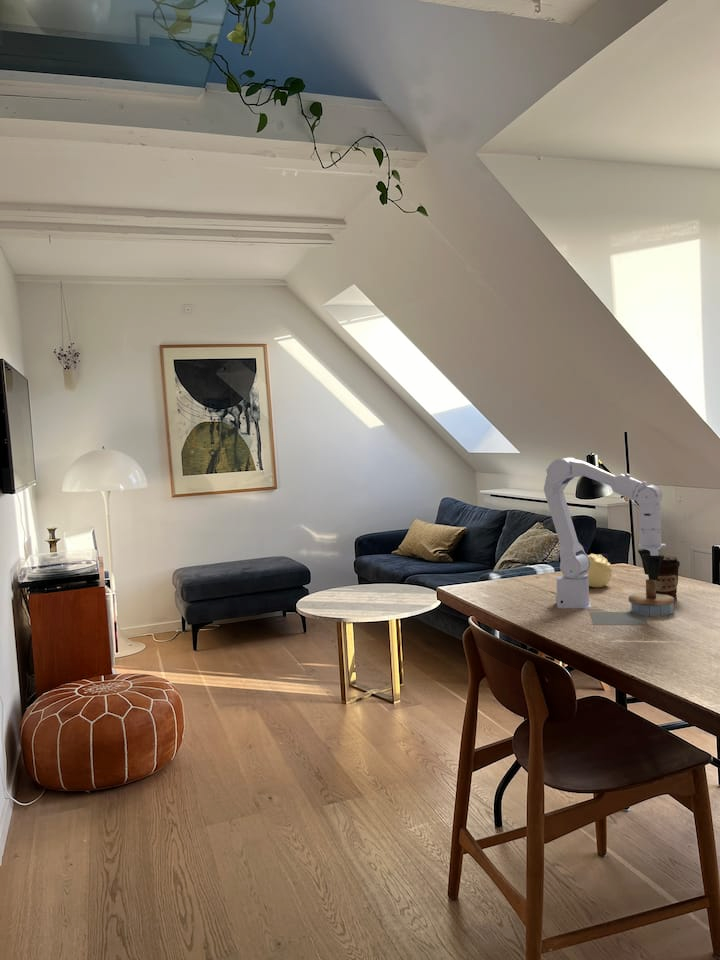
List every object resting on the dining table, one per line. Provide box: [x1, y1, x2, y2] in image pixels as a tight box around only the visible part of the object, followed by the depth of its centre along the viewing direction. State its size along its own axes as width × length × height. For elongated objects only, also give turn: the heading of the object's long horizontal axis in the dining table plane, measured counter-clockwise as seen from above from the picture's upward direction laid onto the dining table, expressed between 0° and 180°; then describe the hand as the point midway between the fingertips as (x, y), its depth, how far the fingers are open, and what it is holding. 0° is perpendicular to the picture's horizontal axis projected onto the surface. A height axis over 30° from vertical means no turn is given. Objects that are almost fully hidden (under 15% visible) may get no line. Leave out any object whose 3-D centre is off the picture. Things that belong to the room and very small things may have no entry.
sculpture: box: [587, 553, 613, 588], centre depth 254 cm, size 12×12×11 cm
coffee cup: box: [656, 555, 681, 602], centre depth 228 cm, size 9×8×13 cm
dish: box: [630, 602, 675, 617], centre depth 215 cm, size 11×11×4 cm
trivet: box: [588, 611, 650, 626], centre depth 210 cm, size 14×14×1 cm
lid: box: [627, 578, 675, 606], centre depth 215 cm, size 12×12×6 cm
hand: (651, 577), depth 215 cm, fingers open, 7 cm apart
